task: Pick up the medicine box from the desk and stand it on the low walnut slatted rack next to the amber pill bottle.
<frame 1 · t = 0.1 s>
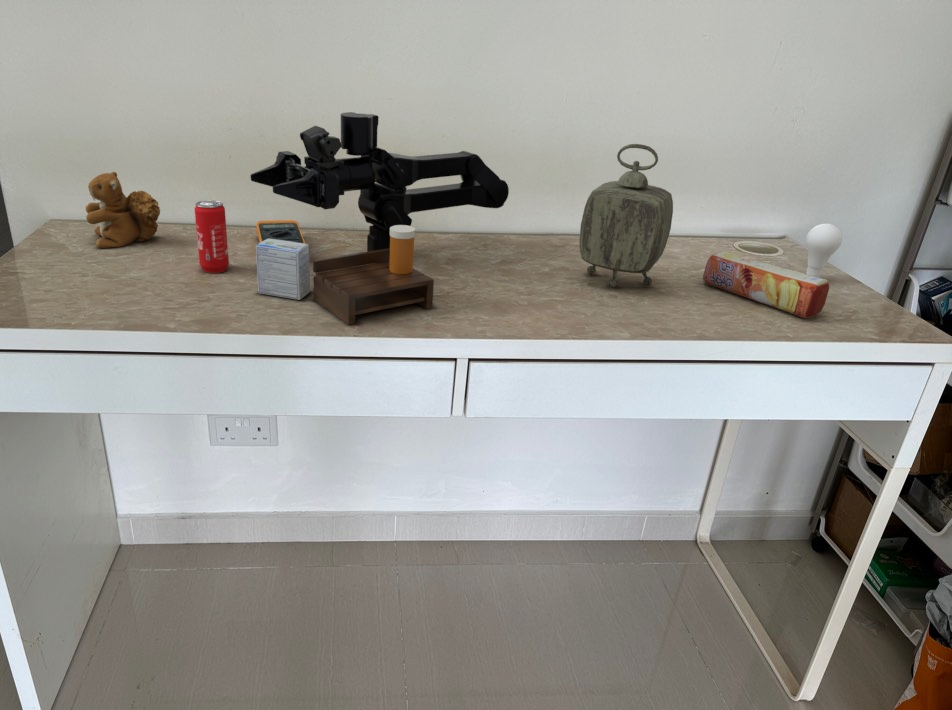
hand: (261, 183, 130), 17 cm above the table, tool horizontal, fingers open, 9 cm apart
lightbulb: (811, 280, 150), on the table
red soda can: (214, 270, 141), on the table
pill bottle: (401, 270, 129), point 5 cm above the table, touching rack
medicine box: (284, 294, 132), on the table
tabletop clock: (614, 285, 143), on the table
rack: (372, 303, 129), on the table
stuffed squirrel: (127, 241, 154), on the table
snack package: (757, 300, 139), on the table
multimeter: (281, 249, 153), on the table
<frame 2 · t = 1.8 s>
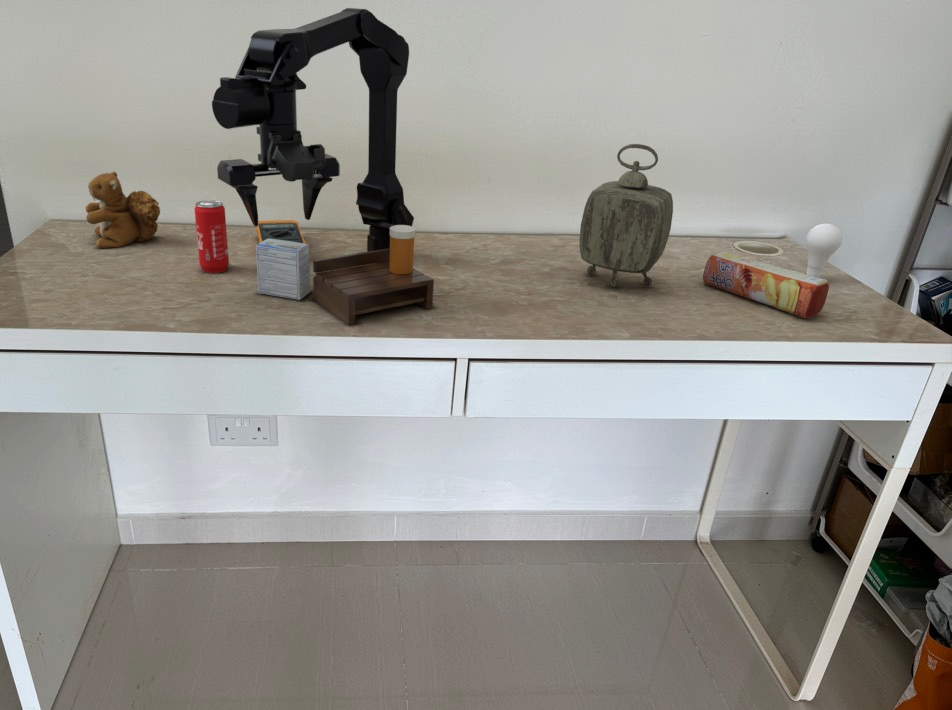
hand: (282, 222, 126), 12 cm above the table, tool pointing down, fingers open, 9 cm apart
nothing on the table moved.
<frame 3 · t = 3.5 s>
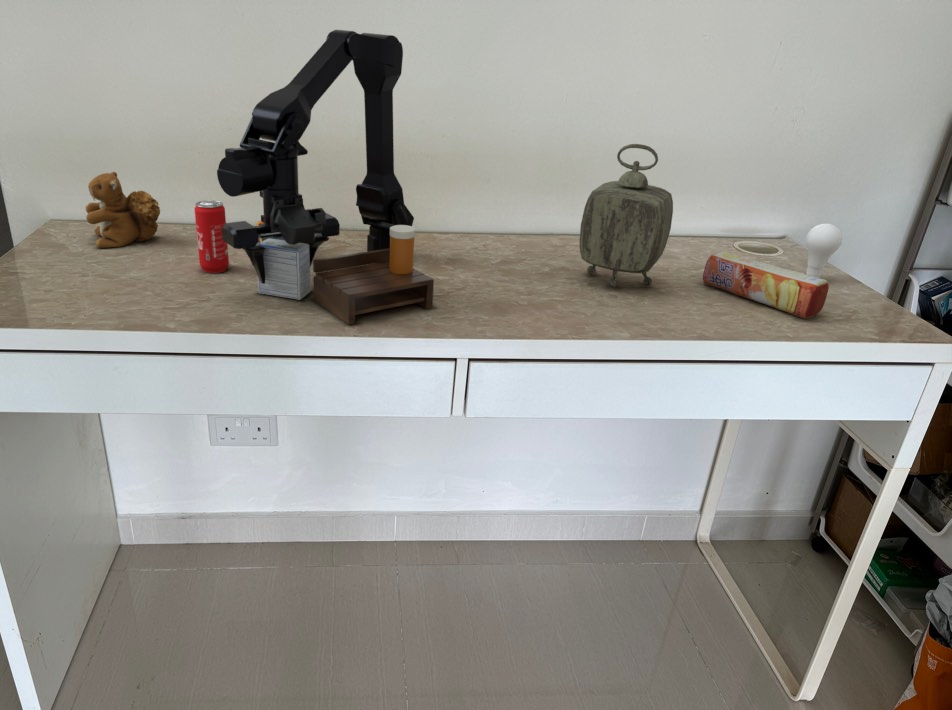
hand: (283, 279, 130), 3 cm above the table, tool pointing down, fingers closed on medicine box, 7 cm apart
medicine box: (284, 294, 132), on the table, touching gripper
everything else where it was.
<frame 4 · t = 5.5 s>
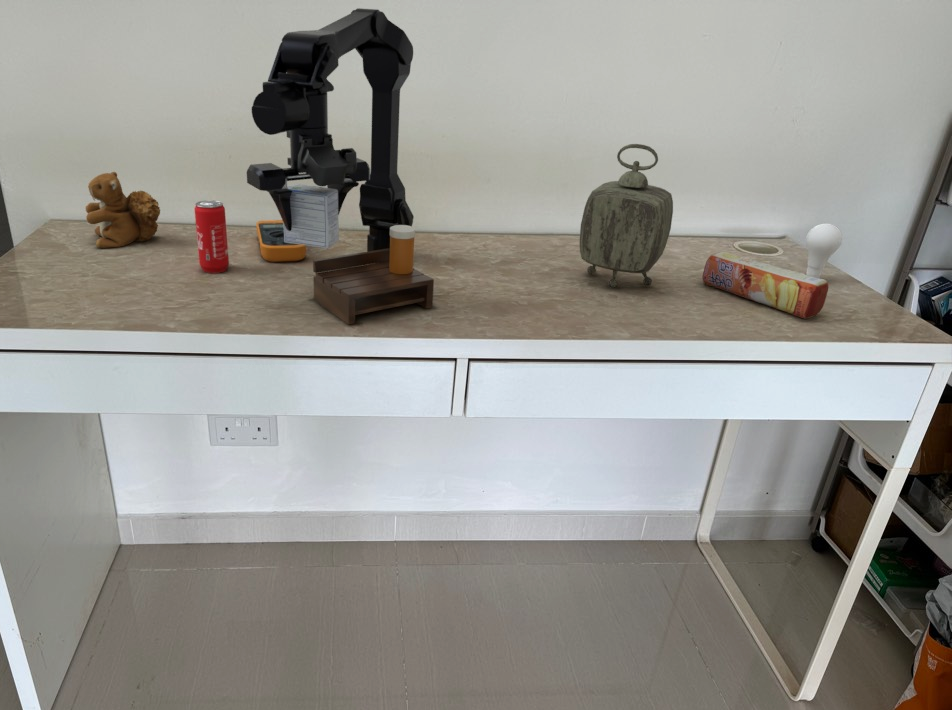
hand: (311, 227, 124), 12 cm above the table, tool pointing down, fingers closed on medicine box, 7 cm apart
medicine box: (311, 244, 125), point 10 cm above the table, touching gripper
everything else where it was.
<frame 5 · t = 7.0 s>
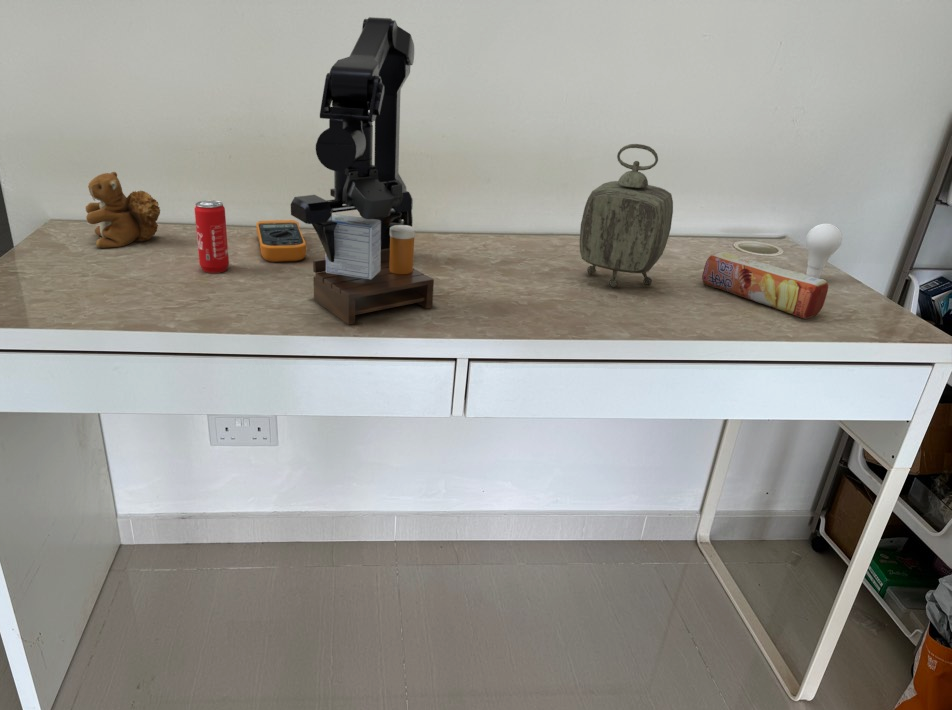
hand: (352, 258, 123), 9 cm above the table, tool pointing down, fingers closed on medicine box, 7 cm apart
medicine box: (353, 274, 124), point 6 cm above the table, touching gripper
everything else where it was.
when the fingers open (8 cm above the table, at t = 7.9 s): medicine box stays where it is, resting on rack.
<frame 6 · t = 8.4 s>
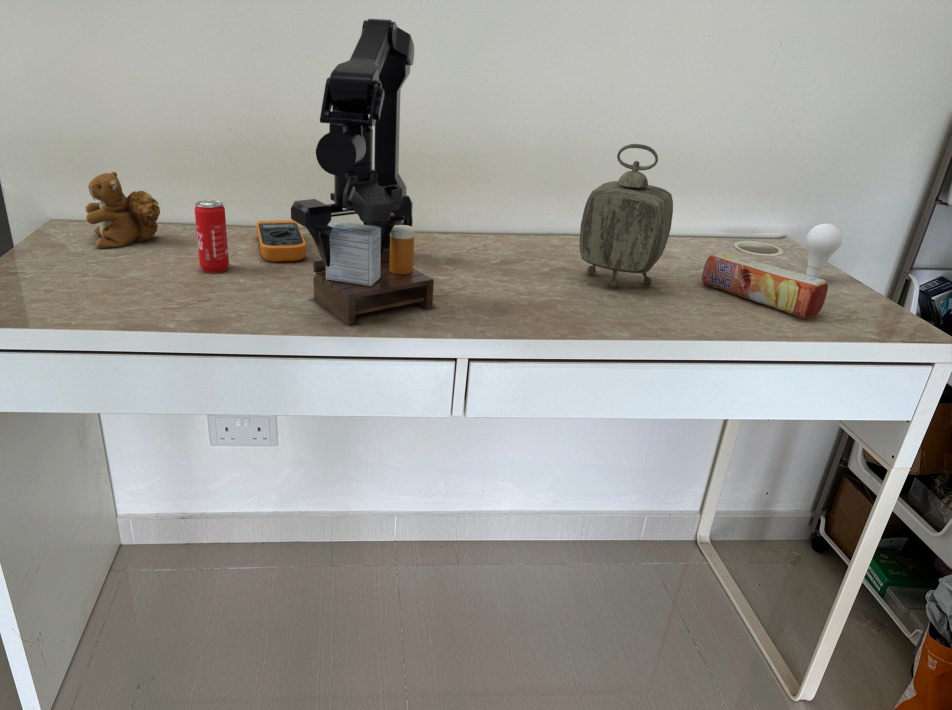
hand: (352, 262, 123), 8 cm above the table, tool pointing down, fingers open, 9 cm apart
medicine box: (353, 281, 124), point 5 cm above the table, touching rack
everything else where it was.
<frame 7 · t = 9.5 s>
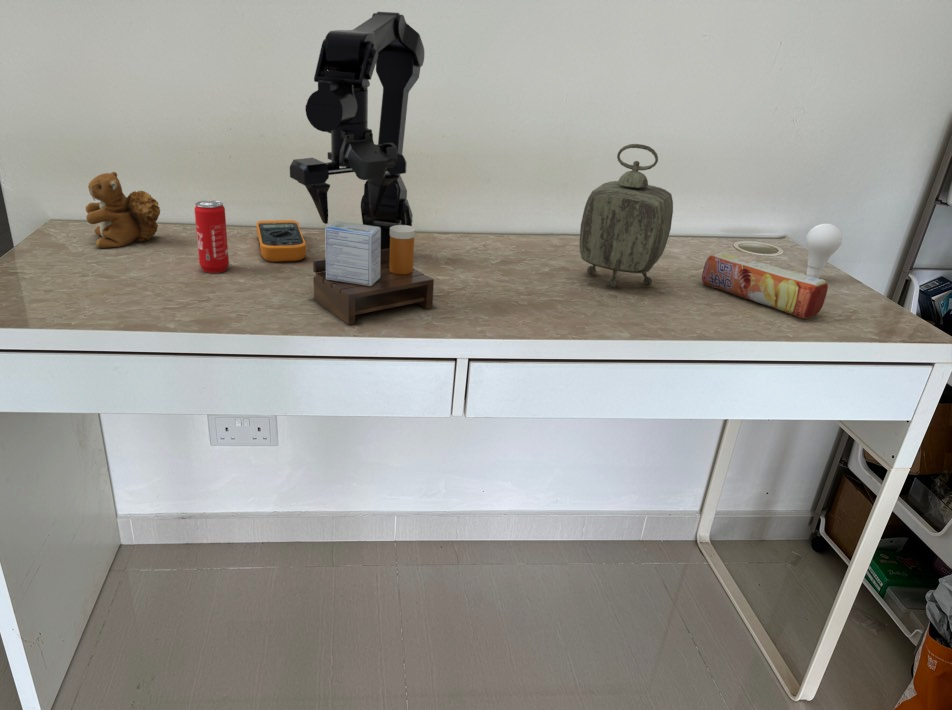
hand: (349, 219, 128), 13 cm above the table, tool pointing down, fingers open, 9 cm apart
nothing on the table moved.
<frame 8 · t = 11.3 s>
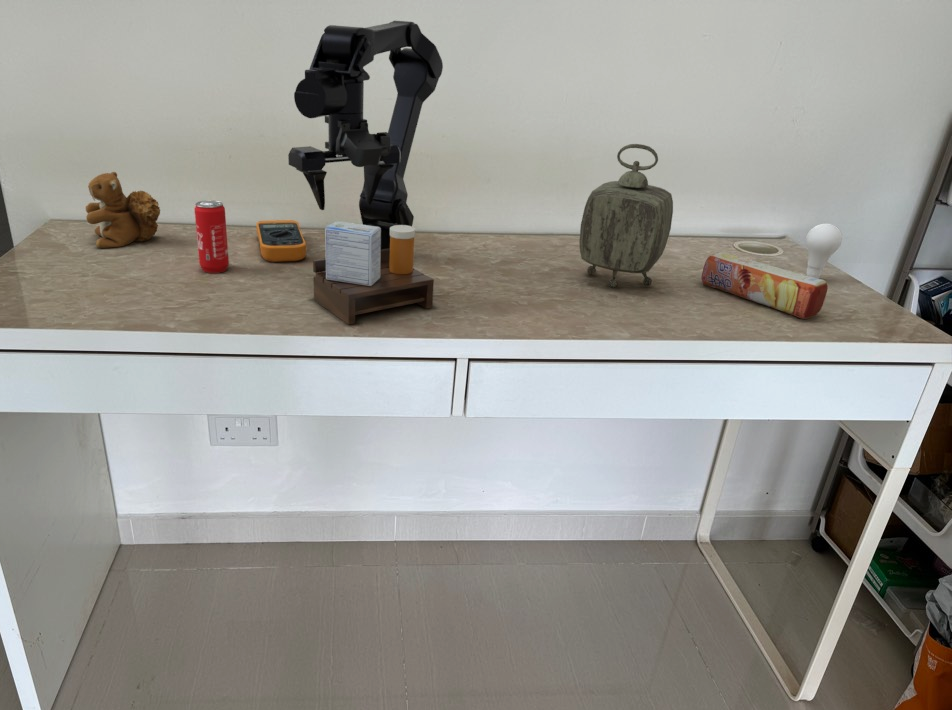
hand: (345, 206, 133), 13 cm above the table, tool pointing down, fingers open, 9 cm apart
nothing on the table moved.
at the end: medicine box inside the target area on the rack (4.0 cm from its centre), point 4.8 cm above the rack's base; medicine box tilted 0°; the gripper is holding nothing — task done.
